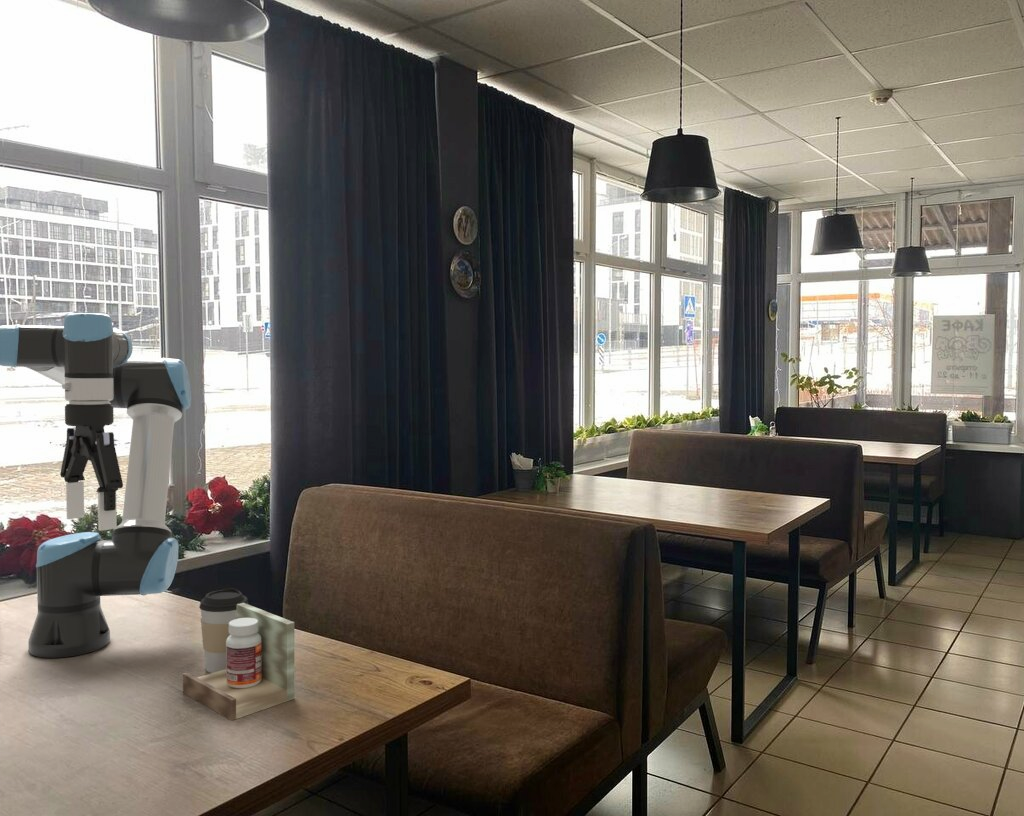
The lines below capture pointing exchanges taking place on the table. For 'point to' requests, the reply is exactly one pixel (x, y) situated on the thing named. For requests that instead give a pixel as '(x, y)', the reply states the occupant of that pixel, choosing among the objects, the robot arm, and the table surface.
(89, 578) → the robot arm
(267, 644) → the wooden l-shaped piece
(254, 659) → the pill bottle
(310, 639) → the table surface
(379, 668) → the table surface
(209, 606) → the coffee cup
